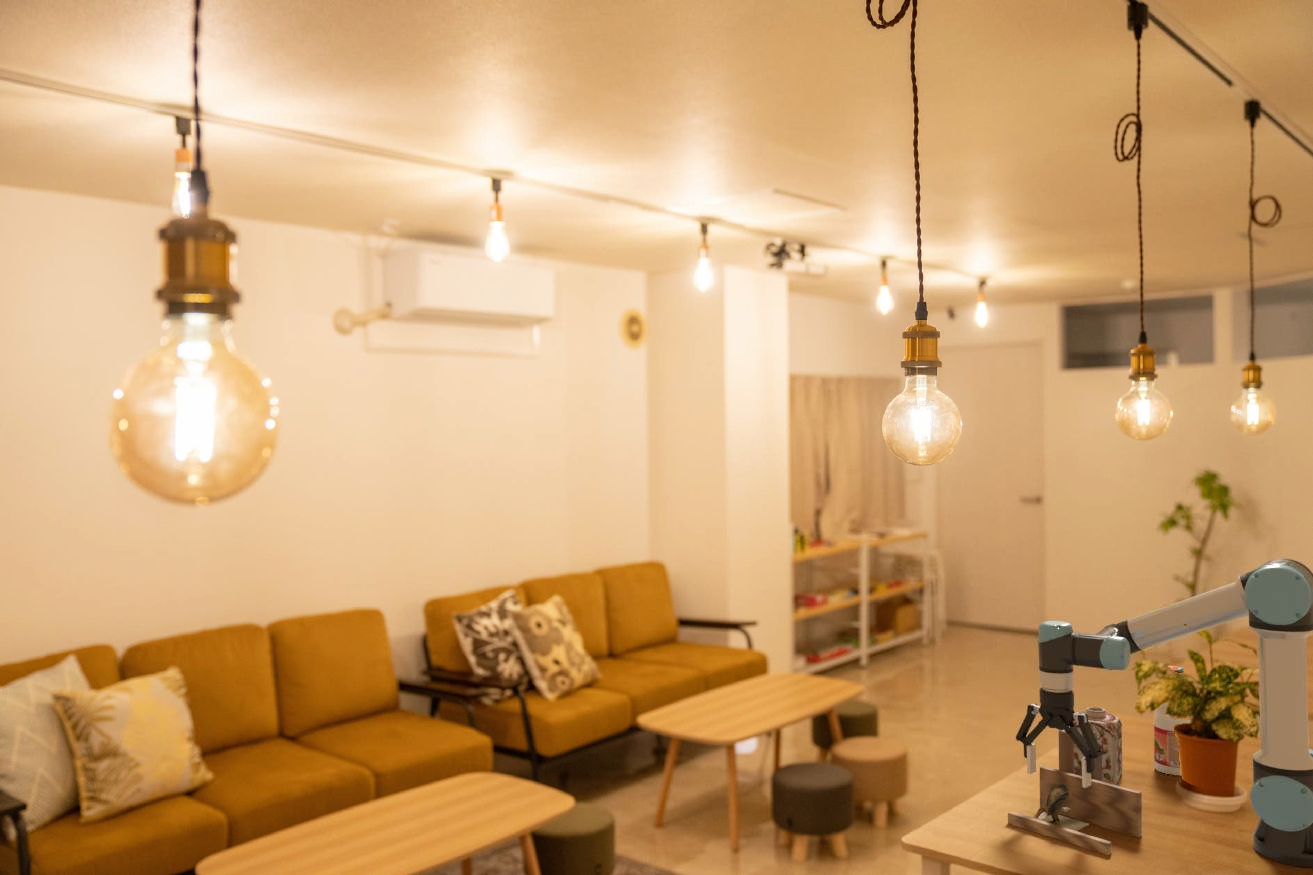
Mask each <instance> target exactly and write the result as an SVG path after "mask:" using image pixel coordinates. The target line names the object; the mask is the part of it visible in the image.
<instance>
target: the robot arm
mask: <svg viewBox="0 0 1313 875" xmlns="http://www.w3.org/2000/svg"><path fill="white" fill-rule="evenodd" d="M1247 616H1248V627H1249V628H1250V629H1251V630H1252V631H1253V632H1255V634H1256V635H1257V656H1258V657H1257V662H1258V692H1259V693H1258V694H1259V695H1258V698H1259V726H1260V727H1259V728H1260V732H1259V733H1260V734H1259V735H1260V749H1259V750H1258V751H1256V752H1255V753H1254V754H1253V755H1252V776H1253V777H1252V778H1253V779H1252V781H1253V783H1252V784H1253V785H1252V787H1251V788H1250V793H1249V796H1250V802H1251V806H1252V808H1253V810H1254V812H1255V814H1256V815H1257V816H1258V818H1259V820H1258V822H1257V825H1256V828H1255V830H1254V833H1253V836H1252V838H1253V840H1252V842H1253V844H1252V845H1253V846H1252V847H1253V849H1254V850H1255V851H1256V852H1257V853H1259V854H1260V855H1262V856H1264V857H1266V858H1268V859H1271V860H1273V861H1276V862H1280V863H1283V864H1286V865H1292V866H1297V867H1304V868H1313V749H1312V748H1310V733H1309V732H1310V731H1309V730H1310V729H1309V703H1308V702H1309V697H1308V696H1309V695H1308V694H1309V693H1308V664H1307V662H1308V661H1307V659H1308V658H1307V638H1308V636H1310V635H1311V634H1313V572H1312V570H1311V569H1310V568H1309V567H1307V565H1305V564H1303V563H1302V562H1300V561H1298V560H1296V559H1291V558H1287V557H1286V558H1285V557H1283V558H1276V559H1272V560H1269V561H1267V562H1265V563H1263V564H1262V565H1260V566H1259V567H1257V568H1255V569H1253V570H1251V571H1248V572H1246V573H1242V574H1239V575H1238V576H1237V579H1236V581H1234V582H1230V583H1228V584H1226V585H1223V586H1219V587H1216V588H1215V589H1211V590H1208V591H1206V592H1203V593H1200V594H1197V595H1194V596H1191V597H1189V598H1188V597H1187V598H1185V599H1183V600H1180V601H1177V602H1174V603H1172V604H1168V605H1166V606H1163V607H1160V608H1157V609H1155V610H1151V611H1149V612H1145V613H1143V614H1141V615H1140V614H1139V615H1137V616H1135V617H1134V616H1133V617H1131V618H1129V619H1127V620H1123V621H1121V622H1116V623H1110V624H1108V625H1106V626H1104V627H1103V628H1102V629H1101V630H1100V631H1098V632H1096V633H1082V632H1075V631H1074V629H1073V625H1072V624H1071V623H1069V622H1068V621H1062V620H1061V621H1059V620H1047V621H1044V622H1043V621H1042V622H1041V623H1040V624H1039V626H1038V637H1037V638H1038V640H1037V646H1038V648H1037V649H1038V679H1039V680H1038V681H1039V682H1038V685H1039V686H1040V688H1039V703H1040V705H1038V704H1037V703H1035V702H1033V703H1031V704H1028V705H1027V707H1026V708H1027V709H1026V715H1025V717H1024V719H1023V720H1022V723H1021V725H1020V727H1019V729H1018V731H1017V733H1016V736H1015V741H1017V742H1021V743H1022V744H1023V757H1024V758H1025V759H1026V765H1027V766H1026V767H1027V768H1026V770H1027V771H1026V772H1027V774H1028V775H1029V774H1030V775H1032V774H1033V773H1035V772H1037V751H1036V750H1037V748H1036V746H1037V745H1036V743H1034V741H1035V740H1036V739H1037V738H1038V736H1039V735H1040V734H1041V733H1042V732H1043V731H1044V730H1045V729H1046V728H1047V727H1048V728H1050V729H1056V730H1058V731H1059V730H1065V732H1066V733H1067V734H1069V735H1070V737H1071V738H1072V740H1073V741H1074V743H1075V744H1076V745H1077V747H1078V748H1079V750H1080V751H1081V752H1082V754H1083V755H1084V758H1082V787H1084V788H1086V787H1088V786H1091V773H1093V772H1094V759H1095V758H1098V757H1100V756H1102V755H1103V753H1102V751H1101V749H1100V746H1099V744H1098V742H1097V740H1096V738H1095V736H1094V733H1093V731H1092V729H1091V727H1090V725H1089V721H1088V715H1087V714H1086V713H1083V714H1075V713H1076V712H1075V709H1074V708H1075V692H1074V691H1075V690H1073V689H1074V685H1075V684H1074V666H1077V667H1078V666H1079V667H1086V668H1096V669H1103V670H1108V671H1124V670H1127V669H1128V667H1129V664H1130V661H1131V655H1132V654H1133V655H1134V654H1135V653H1138V652H1141V651H1144V650H1146V649H1150V648H1152V647H1156V646H1159V645H1162V644H1165V643H1168V642H1170V641H1174V640H1177V639H1180V638H1183V637H1187V636H1190V635H1192V634H1195V633H1199V632H1201V631H1205V630H1208V629H1211V628H1214V627H1217V626H1220V625H1223V624H1226V623H1229V622H1232V621H1235V620H1239V619H1242V618H1244V617H1247ZM1184 624H1186V625H1187V626H1184ZM1038 714H1039V715H1040V716H1041V719H1040V721H1038V722H1037V725H1036V726H1035V727H1033V729H1031V727H1032V725H1033V722H1034V721H1035V719H1036V717H1037V715H1038ZM1074 719H1076V722H1077V723H1078V724H1079V727H1080V730H1081V732H1082V734H1083V736H1084V738H1085V739H1084V738H1083V737H1082V735H1081V734H1080V732H1079V731H1078V730H1077V726H1076V725H1075V723H1074V722H1073V721H1074ZM1030 729H1031V731H1030ZM1029 731H1030V732H1029ZM1085 740H1086V741H1085Z"/></svg>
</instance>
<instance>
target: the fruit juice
mask: <svg viewBox="0 0 1313 875" xmlns="http://www.w3.org/2000/svg"><path fill="white" fill-rule="evenodd" d="M1167 666H1168V667H1170V669H1171V670H1173V671H1175V672H1177V673H1179V674H1183V675H1184V668H1183V667H1181V666H1176V665H1167ZM1166 708H1167V705H1166V704H1163V705H1162V706H1160V707H1159V708H1158V709H1157V708H1156V712H1154V718H1153V728H1154V729H1153V734H1154V735H1153V736H1154V737H1153V738H1154V740H1153V742H1154V743H1153V744H1154V745H1153V747H1154V748H1153V749H1154V750H1153V751H1154V752H1153V755H1154V756H1153V757H1154V759H1153V762H1154V763H1153V764H1154V769H1155V771H1157V772H1159V773H1161V772H1162V773H1161V774H1163V773H1165V774H1164V775H1167V774H1173V775H1180V761H1179V745H1178V740H1177V737H1176V736H1175V732H1174V725H1175V724H1182V723H1190V720H1183V719H1177V720H1174V719H1172V718H1170V717H1167V716H1166V714H1165V713H1166Z"/></svg>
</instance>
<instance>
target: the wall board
mask: <svg viewBox="0 0 1313 875" xmlns="http://www.w3.org/2000/svg"><path fill="white" fill-rule="evenodd" d="M1059 784H1061V785H1062V784H1064V785H1066V787H1068V790H1069V791H1068V792H1069V796H1068V797H1067V798H1066V799H1065V801H1064V803H1063V804H1062V805H1061V807H1068V808H1070V809H1071V810H1069V811H1066V812H1064V813H1062V814H1058V818H1059V820H1060V825H1061V826H1058V825H1055V824H1051V823H1048V822H1049V821H1053V818H1052V816H1051V815H1049V816H1047V817H1046V818H1044V819H1042V820H1040V819H1039V816H1038V817H1036V818H1035V817H1032V816H1028V815H1025V814H1021V813H1019V812H1015V811H1012V810H1010V811H1009V812H1007V824H1009V825H1012V826H1016V827H1018V828H1021V829H1025V830H1028V831H1031V832H1034V833H1037V834H1039V835H1043V836H1047V837H1050V838H1053V839H1056V840H1059V841H1062V842H1066V843H1068V844H1072V845H1075V846H1079V847H1081V848H1083V849H1084V848H1085V849H1086V850H1091V851H1093V852H1097V853H1100V854H1103V855H1105V856H1109V855H1111V854H1112V841H1110V840H1106V839H1103V838H1100V837H1096V836H1093V835H1089V834H1087V833H1083V832H1080V830H1082V829H1083V828H1086V827H1088V826H1090V824H1093V825H1095V824H1096V826H1098V827H1099V826H1100V827H1103V828H1105V829H1109V830H1112V831H1116V832H1119V833H1123V834H1126V835H1129V836H1133V837H1137V838H1140V837H1142V835H1143V832H1142V831H1143V830H1142V829H1143V826H1142V824H1143V823H1142V820H1143V818H1142V809H1143V808H1142V807H1143V806H1142V804H1143V802H1142V796H1143V794H1142V791H1139V790H1136V789H1132V788H1127V787H1123V786H1121V785H1117V784H1116V785H1113V784H1109V783H1106V782H1102V781H1098V780H1094V779H1091V786H1088V787H1086V788H1084V787H1082V776H1079V775H1075V774H1072V773H1068V772H1064V771H1060V770H1059V769H1056V768H1053V767H1050V766H1049V767H1048V766H1045V765H1042V766H1040V767H1039V809H1041V808H1042V809H1041V810H1045V811H1047V810H1048V809H1047V806H1046V804H1047V798H1048V796H1049V793H1050V790H1051V789H1052V788H1053V787H1054V786H1056V785H1059ZM1065 815H1066V816H1065ZM1072 817H1073V818H1072ZM1075 818H1076V819H1075ZM1088 822H1090V823H1088Z"/></svg>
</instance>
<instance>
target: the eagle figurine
mask: <svg viewBox="0 0 1313 875" xmlns="http://www.w3.org/2000/svg"><path fill="white" fill-rule="evenodd" d="M1068 791H1069V790H1068V787H1066V785H1064V784H1062V785H1061V784H1059V785H1056V786H1054V787H1053V788H1052V789H1051V790H1050V793H1049V796H1048V798H1047V804H1046V806H1047V809H1048V810H1045V811H1044V812H1042V813H1040V815H1039V816H1038V817H1039V819H1040V820H1042V819H1044V818H1046V817H1047V816H1049V815H1051V816H1052V818H1053V821H1049V822H1048V823H1051V824H1055V825H1058V826H1061V825H1060V820H1059V818H1058V815H1062V813H1064V812H1066V811H1069V810H1071V809H1070V808H1068V807H1061V805H1062V804H1063V803H1064V801H1065V799H1066V798H1067V797H1068V796H1069V792H1068Z"/></svg>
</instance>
